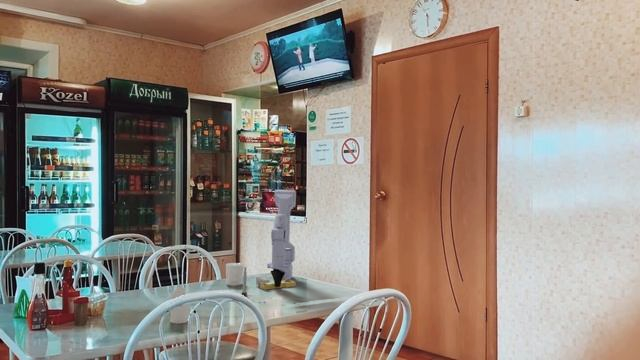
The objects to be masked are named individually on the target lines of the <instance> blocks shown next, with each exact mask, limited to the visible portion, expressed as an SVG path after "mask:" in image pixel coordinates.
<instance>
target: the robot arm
mask: <svg viewBox="0 0 640 360" xmlns="http://www.w3.org/2000/svg"><path fill="white" fill-rule="evenodd" d="M273 194H274V195H273V197H274V198H273V201H274V203H275V206H276V207H277V208H278V209H277V211H278V212H277V213H278V214H276V215H275V217H274V223H273V229H271V233H270V234H271V235H270V236H271V237H270V239H271V262H269V263H266V267H267V269H272V270H270V274H271V276H272V278H273V279H272V280H273V282H274V283H275V287H280V285H281V281H284V280H285V279H290V280H292V278H293V264H292V263H294V262H295V260H296V259H295V257H296V251H295V245H294V244H293V243H291V241H290V228H291V227H290V226H291V211H292V209H293V208H295V207H296V205H297V204H296V202H297V200H296V199H297V192H296V190H294V189H293V190H289V189H288V190H287V189H275V191H274V193H273Z"/></svg>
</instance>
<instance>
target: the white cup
mask: <svg viewBox="0 0 640 360" xmlns="http://www.w3.org/2000/svg"><path fill="white" fill-rule="evenodd" d="M244 266H245V265H244V263H241V262H230V263H229V262H228V263H226V264H225V279H226V280H225V281H226V283H225V284H226V285H228V286H240V285H243V276H244Z"/></svg>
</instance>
